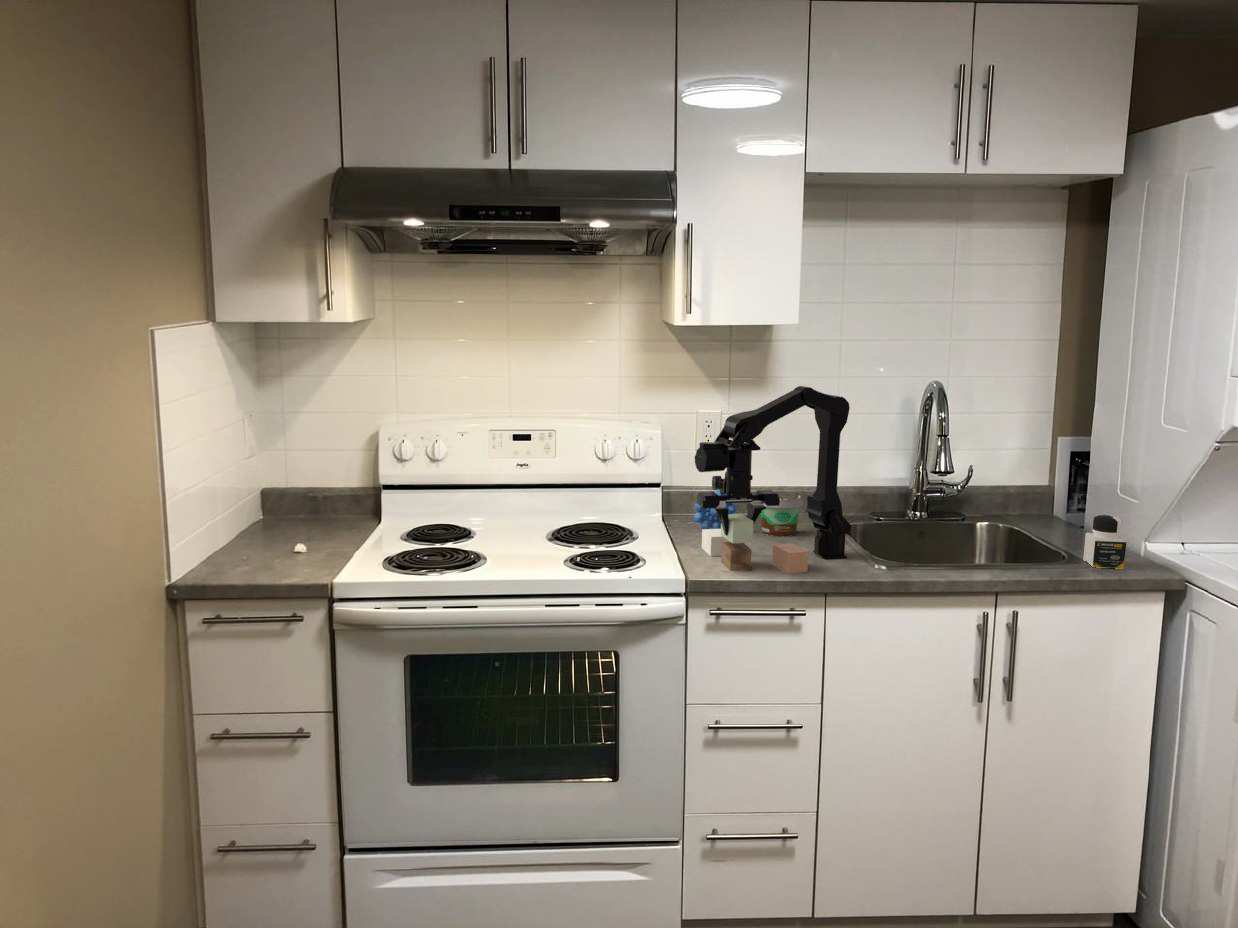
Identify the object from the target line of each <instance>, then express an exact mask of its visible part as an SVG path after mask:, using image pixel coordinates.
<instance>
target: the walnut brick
mask: <svg viewBox="0 0 1238 928" xmlns="http://www.w3.org/2000/svg"><path fill="white" fill-rule="evenodd" d="M752 551H753V550H752V548H750V547H749V546H748V545H747V543H731V542H722V551H721V556H720V558H721V559H720V561H721V563H722V564H723V565H724V566H725V567H726V568H727V569H728V570H729V571H731V572H732V571H733V572H734V571H735V572H737V571H751V569H752Z"/></svg>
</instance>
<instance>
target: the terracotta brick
mask: <svg viewBox="0 0 1238 928" xmlns="http://www.w3.org/2000/svg"><path fill="white" fill-rule="evenodd" d="M771 561H772V566H774V567H776V568H778V569H779V570H781V571H783V572H785V573H786V574H797V573H807V572H808V570H809V569H808V568H809V550H807V549H804V548H803V547H800V546H798V545H796V544H794V543H793V542H789V543H788V542H787V543H779V544H776V543H775V544H773V545H772V560H771Z"/></svg>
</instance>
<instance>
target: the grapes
mask: <svg viewBox="0 0 1238 928" xmlns="http://www.w3.org/2000/svg"><path fill="white" fill-rule="evenodd" d="M707 492H713V491H711V490H708V491H707ZM714 493H716V494H717V495H726V494H720V490H715V492H714ZM726 508H728V509H729V514H736V512H737V510H738V506H737V504H736V503H726ZM694 509H695V510H696V511H697V512H695V514H694V515H693V521H694V522H695V523H700V524H699V528H700V530H702V529H721V521H720V518H719V515H718V513H717V511H715V510H714V509H713V508H702V507H701V506H700V505H698V504H697V502H696V503H695V505H694Z"/></svg>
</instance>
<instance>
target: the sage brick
mask: <svg viewBox="0 0 1238 928" xmlns="http://www.w3.org/2000/svg"><path fill="white" fill-rule="evenodd" d="M753 523H754V521H752V520H750V519H749V518H747V515H746V516H745V515H744V514H743V513H734V514H729V516H728V535H725V534H724V530H723V527H722V524H721V536H723V537H724V538H726V539H727V540H729V541H730V542H731V543H744V544H747V543H749V544H750V543H754V525H753ZM754 524H755V523H754Z"/></svg>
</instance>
